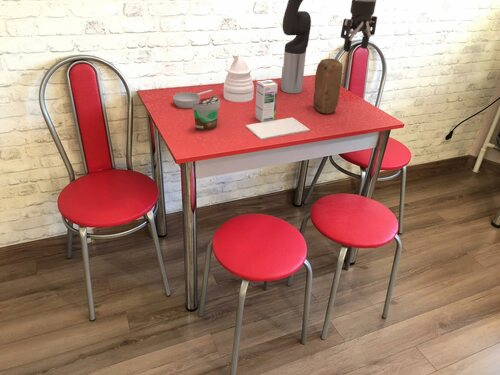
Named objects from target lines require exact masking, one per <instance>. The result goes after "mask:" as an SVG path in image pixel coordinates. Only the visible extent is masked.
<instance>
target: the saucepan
mask: <svg viewBox="0 0 500 375" xmlns="http://www.w3.org/2000/svg"><path fill="white" fill-rule="evenodd" d="M211 92H213V89H208V90H205V91H202V92H201V91H200V92H198V93H197V92H192V91H191V92H190V91H183V92H182V91H181V92H177V93H175V94H173V96H172V98H173V102H174V104H175V106H176V107H177V108H179V109H192V107H193V103H194V104H199V103H200V102H201V96H202V95H205V94H207V93H211Z"/></svg>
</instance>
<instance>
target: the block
mask: <svg viewBox="0 0 500 375" xmlns="http://www.w3.org/2000/svg"><path fill="white" fill-rule="evenodd" d="M342 76H343V63H342V62H340V61H339V60H338V59H334V58H324V59H321V60H320V61H319V63H318V65H317V66H316V70H315V78H314V94H313V102H312V103H313V107H314V108H315V109H316V111H317V112H319V113H321V114H327V115H328V114H329V115H330V114H332V113H334V112H335V111H336V109H337V106H338V105H339V99H340V93H341V88H342V87H341V86H342Z"/></svg>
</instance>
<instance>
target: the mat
mask: <svg viewBox="0 0 500 375" xmlns="http://www.w3.org/2000/svg"><path fill="white" fill-rule="evenodd" d="M245 128H246V129H248V130H249V131H250V132H251V133H252V134H253V135H254V136H255V137H257V138H258V139H259V140H261V141H262V140H269V139H275V138H278V137H284V136H289V135H290V136H291V135H295V134H300V133H306V132H307V133H308V132H310V130H311V129H310V128H308V127H307V126H305V125H304V124H302V123H301V122H299V121H298V120H297V119H296V118H294V117H287V118H280V119H275V120H274V121H268V122H256V123H251V124H246V125H245Z"/></svg>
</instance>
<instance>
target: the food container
mask: <svg viewBox="0 0 500 375" xmlns="http://www.w3.org/2000/svg"><path fill="white" fill-rule="evenodd" d="M220 107H221V100H220V97H218V96H217V95H215V94H212V97H210V98H206V99H203V100H202V101H199V104H194V103H193V107H192V108H191V109H192V110H193V118H194V126H195V130H197V129H198V131H211V129H212V130H215V129H216V128H217V127H218V116H219V108H220Z"/></svg>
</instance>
